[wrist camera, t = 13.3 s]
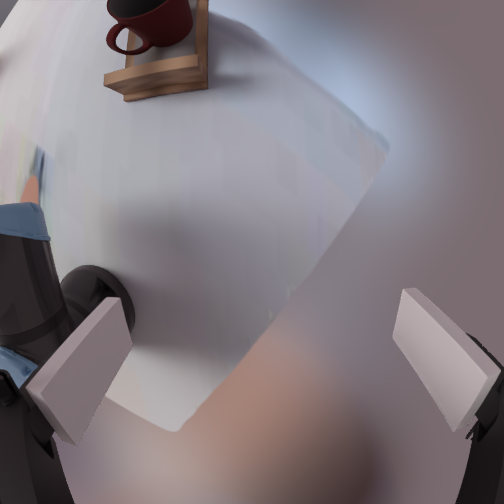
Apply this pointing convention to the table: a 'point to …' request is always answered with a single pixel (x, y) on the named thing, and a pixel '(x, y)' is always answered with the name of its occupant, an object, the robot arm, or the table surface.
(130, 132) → the table surface
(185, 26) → the mug
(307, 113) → the table surface
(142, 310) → the table surface
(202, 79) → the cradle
